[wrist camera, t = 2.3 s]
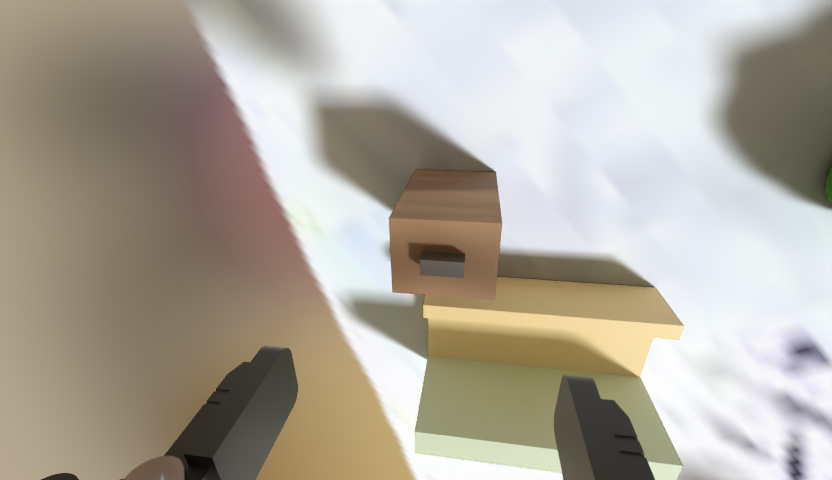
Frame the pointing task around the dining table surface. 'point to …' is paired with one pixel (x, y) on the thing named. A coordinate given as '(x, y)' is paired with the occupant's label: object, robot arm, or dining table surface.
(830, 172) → the bell pepper
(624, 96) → the dining table surface
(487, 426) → the beige piece
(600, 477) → the robot arm
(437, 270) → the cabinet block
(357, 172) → the dining table surface
